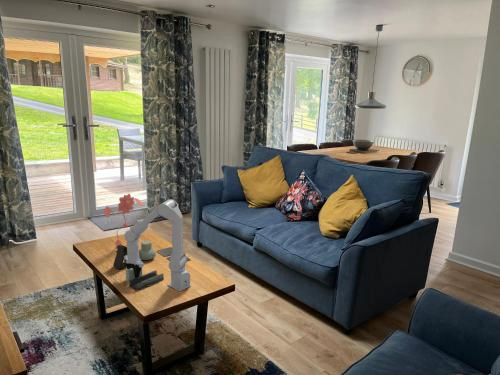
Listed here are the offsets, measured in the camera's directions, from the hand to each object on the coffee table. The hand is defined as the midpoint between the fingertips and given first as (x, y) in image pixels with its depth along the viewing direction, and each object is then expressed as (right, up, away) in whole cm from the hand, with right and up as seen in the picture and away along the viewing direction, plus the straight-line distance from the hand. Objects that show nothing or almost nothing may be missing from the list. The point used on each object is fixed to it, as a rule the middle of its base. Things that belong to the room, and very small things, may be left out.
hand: (134, 275), depth 196 cm
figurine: (-15, +8, +39) cm, 43 cm away
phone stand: (-11, +2, +15) cm, 19 cm away
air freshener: (-1, +4, +26) cm, 26 cm away
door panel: (0, -2, 0) cm, 2 cm away
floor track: (+7, -3, -3) cm, 8 cm away
